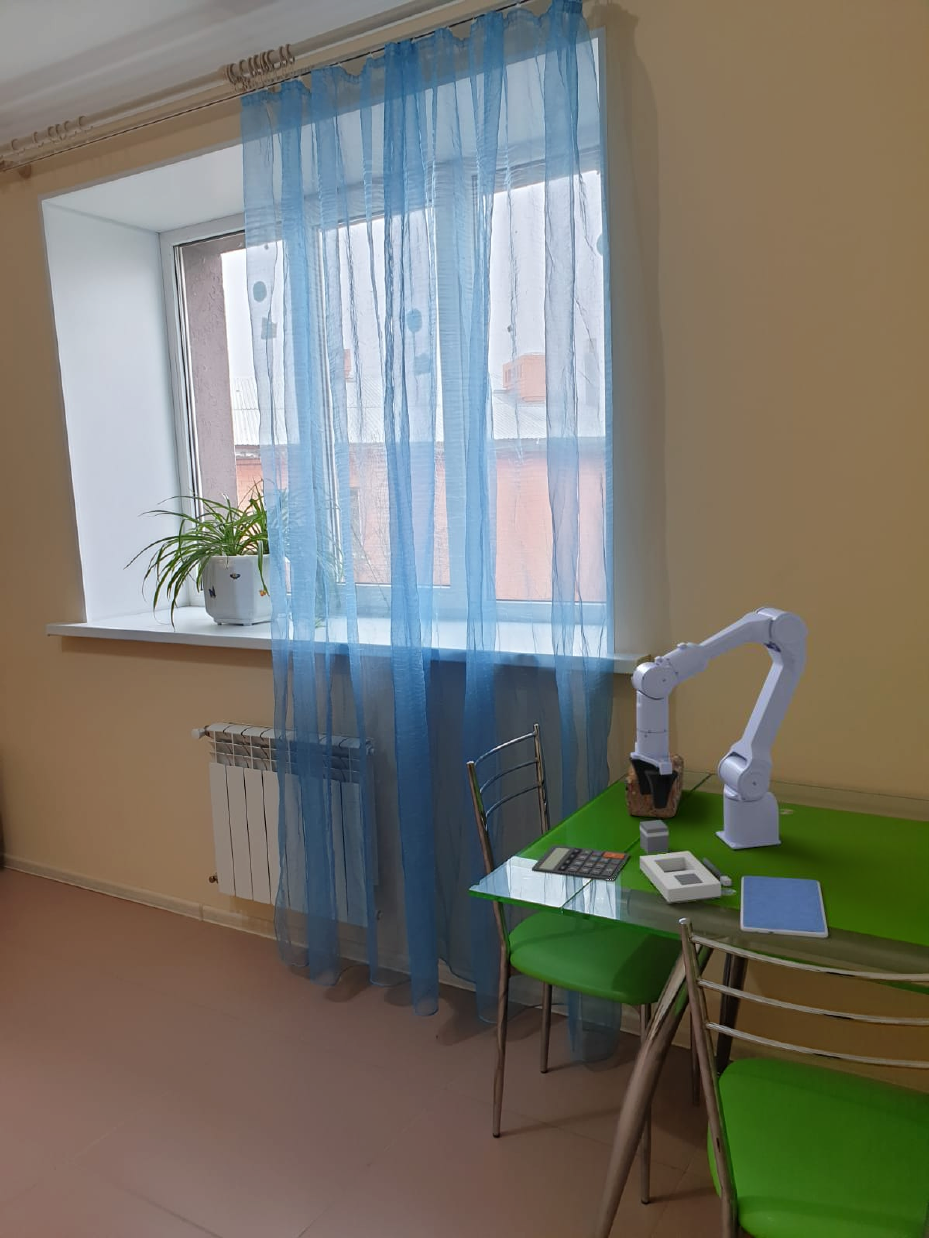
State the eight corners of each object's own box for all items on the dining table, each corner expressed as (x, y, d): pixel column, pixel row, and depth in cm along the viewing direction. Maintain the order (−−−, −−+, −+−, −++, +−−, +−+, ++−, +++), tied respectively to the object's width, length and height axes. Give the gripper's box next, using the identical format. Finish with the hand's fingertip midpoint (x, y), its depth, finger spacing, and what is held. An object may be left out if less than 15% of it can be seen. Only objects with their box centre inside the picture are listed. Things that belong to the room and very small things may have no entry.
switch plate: (688, 864, 170) (688, 850, 169) (721, 898, 156) (721, 882, 156) (640, 870, 169) (639, 855, 168) (668, 904, 155) (668, 888, 155)
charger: (661, 845, 180) (660, 819, 179) (669, 853, 176) (668, 827, 175) (640, 847, 179) (639, 821, 178) (647, 855, 175) (646, 829, 174)
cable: (707, 861, 171) (707, 856, 171) (731, 885, 161) (731, 880, 161) (700, 862, 171) (700, 857, 171) (724, 885, 161) (724, 880, 160)
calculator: (612, 878, 165) (531, 867, 171) (612, 883, 165) (531, 872, 171) (630, 852, 175) (552, 843, 182) (630, 857, 175) (553, 848, 182)
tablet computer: (828, 941, 142) (828, 933, 141) (740, 934, 145) (740, 926, 145) (819, 886, 160) (819, 879, 160) (741, 881, 163) (741, 874, 163)
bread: (676, 820, 192) (675, 772, 191) (623, 817, 195) (622, 769, 194) (685, 790, 209) (685, 746, 208) (636, 787, 213) (635, 744, 211)
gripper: (619, 720, 180) (619, 790, 182) (644, 741, 166) (645, 815, 168) (655, 718, 181) (655, 787, 183) (683, 738, 167) (683, 812, 169)
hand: (653, 800), depth 176 cm, fingers open, 7 cm apart
